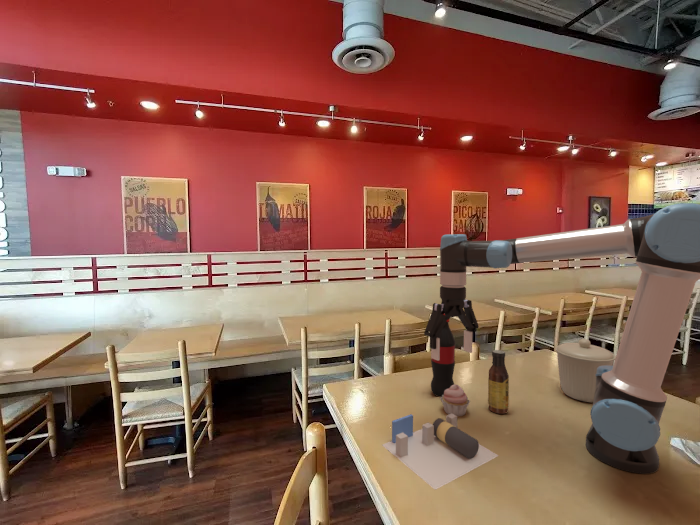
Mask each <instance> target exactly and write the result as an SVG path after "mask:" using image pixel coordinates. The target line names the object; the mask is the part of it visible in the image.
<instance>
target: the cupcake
mask: <svg viewBox="0 0 700 525" xmlns="http://www.w3.org/2000/svg"><path fill="white" fill-rule="evenodd" d="M439 399H440V401H441V402H442V406H443V410H444V412H445V413H446V414H447V415H449V414H454V415H456V416H457V417H462V416H464V415H465V414H466V412H467V409H468V406H469V405H470V402H471V400H469V398H468V395H467V394H466V392H465V391H464V389H463V388H462V387H461V386H460V385H459V384H456V383H454V385H452V386H451V387H450V388H449V389H446V390H445V391H444V395H442V397H440V396H439Z"/></svg>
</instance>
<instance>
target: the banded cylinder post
mask: <svg viewBox="0 0 700 525" xmlns="http://www.w3.org/2000/svg"><path fill="white" fill-rule="evenodd" d="M432 425H434V436H436V437H437V438H438V439H440V440H441V441H443V442H444V443H446V444H447V445H449V446H451V447H452V448H454V449H455V450H457V451H458V452H460V453H461V454H463V455H464V456H466V457H467V458H469V459H471V458H473V457H474V456H475V455H476V454H477V452H478V448H479V444H480V443H479V441H478V440H477V439H476V438H474V437H473V436H471V435H470V434H468V433H466V432H464V431H463V430H461V429H460V428H458V427H457V428H456V427H455V426H453V425H451V424H450V423H448V422H446V420H444V419H443V418H440V417H438V418H436V419H435V420H434V421H433V423H432Z"/></svg>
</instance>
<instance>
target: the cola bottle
mask: <svg viewBox="0 0 700 525" xmlns="http://www.w3.org/2000/svg"><path fill="white" fill-rule="evenodd" d="M444 315H445V314H444ZM449 322H450V319H449V320H447V322H446V323H445V325H444V327H443V329H442V330H441V332H440V334H439V335H438V337H437V338H440V360H439V361H437V360H435V359H432V358H430V361H431V362H430V363H431V369H432V370H431V371H432V379H431V381H430V389H431V392H432V394H433V395H434V396H435V397H439V398H440V397H442V395H444V391H445V390H446V389H449V388H450V387H451V386H452V385H454V384H455V382H454V378H453V377H454V370H455V366H456V365H455V364H456V361H455V360H456V359H455V352H456V351H455V350H456V341H455V337H454V335H453V332H452V330H451V328H450V324H449ZM434 334H435V333H434Z"/></svg>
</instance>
